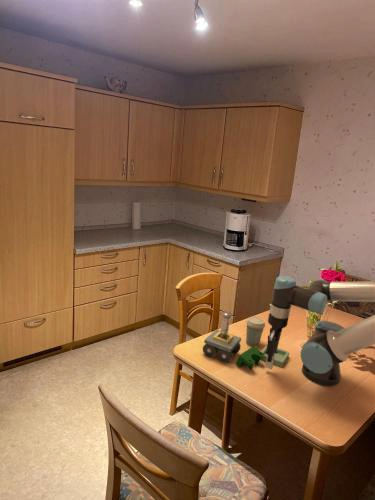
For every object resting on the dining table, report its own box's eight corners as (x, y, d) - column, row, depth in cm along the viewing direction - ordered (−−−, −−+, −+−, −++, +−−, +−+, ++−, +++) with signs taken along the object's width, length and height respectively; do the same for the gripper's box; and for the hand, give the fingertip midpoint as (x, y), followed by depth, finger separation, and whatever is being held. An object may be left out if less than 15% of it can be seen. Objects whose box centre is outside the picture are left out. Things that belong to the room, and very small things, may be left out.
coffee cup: (253, 350, 168) (257, 326, 165) (239, 342, 174) (243, 318, 171) (265, 345, 174) (269, 322, 170) (251, 337, 180) (254, 314, 176)
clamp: (245, 378, 154) (248, 367, 148) (234, 369, 157) (236, 357, 151) (263, 360, 160) (266, 348, 154) (252, 352, 163) (255, 340, 157)
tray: (288, 357, 165) (289, 352, 165) (282, 367, 157) (283, 362, 156) (265, 349, 170) (266, 344, 169) (258, 359, 161) (259, 354, 161)
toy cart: (239, 353, 164) (242, 335, 162) (229, 365, 154) (232, 347, 152) (213, 343, 170) (215, 326, 168) (201, 354, 160) (203, 336, 158)
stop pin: (229, 338, 161) (233, 313, 158) (225, 342, 157) (229, 316, 154) (220, 335, 163) (224, 310, 160) (216, 339, 159) (220, 313, 156)
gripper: (274, 306, 153) (264, 357, 159) (264, 317, 142) (254, 371, 148) (292, 312, 149) (282, 363, 156) (283, 323, 138) (272, 378, 145)
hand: (268, 367), depth 152 cm, fingers closed
